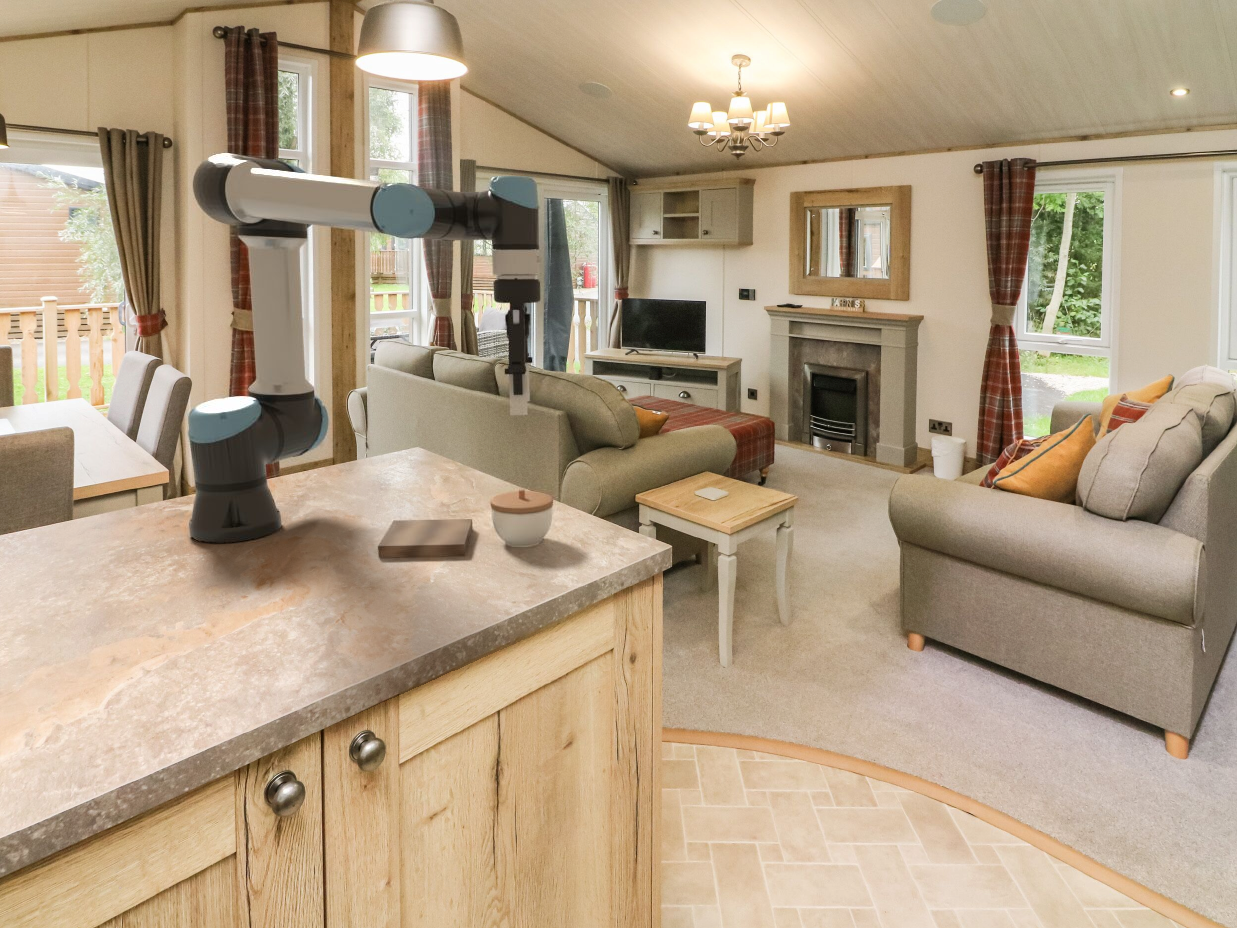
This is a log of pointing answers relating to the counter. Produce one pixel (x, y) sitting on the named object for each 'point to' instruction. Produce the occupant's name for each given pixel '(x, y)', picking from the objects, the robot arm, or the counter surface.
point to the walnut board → (426, 538)
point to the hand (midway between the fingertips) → (520, 408)
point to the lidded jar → (522, 517)
